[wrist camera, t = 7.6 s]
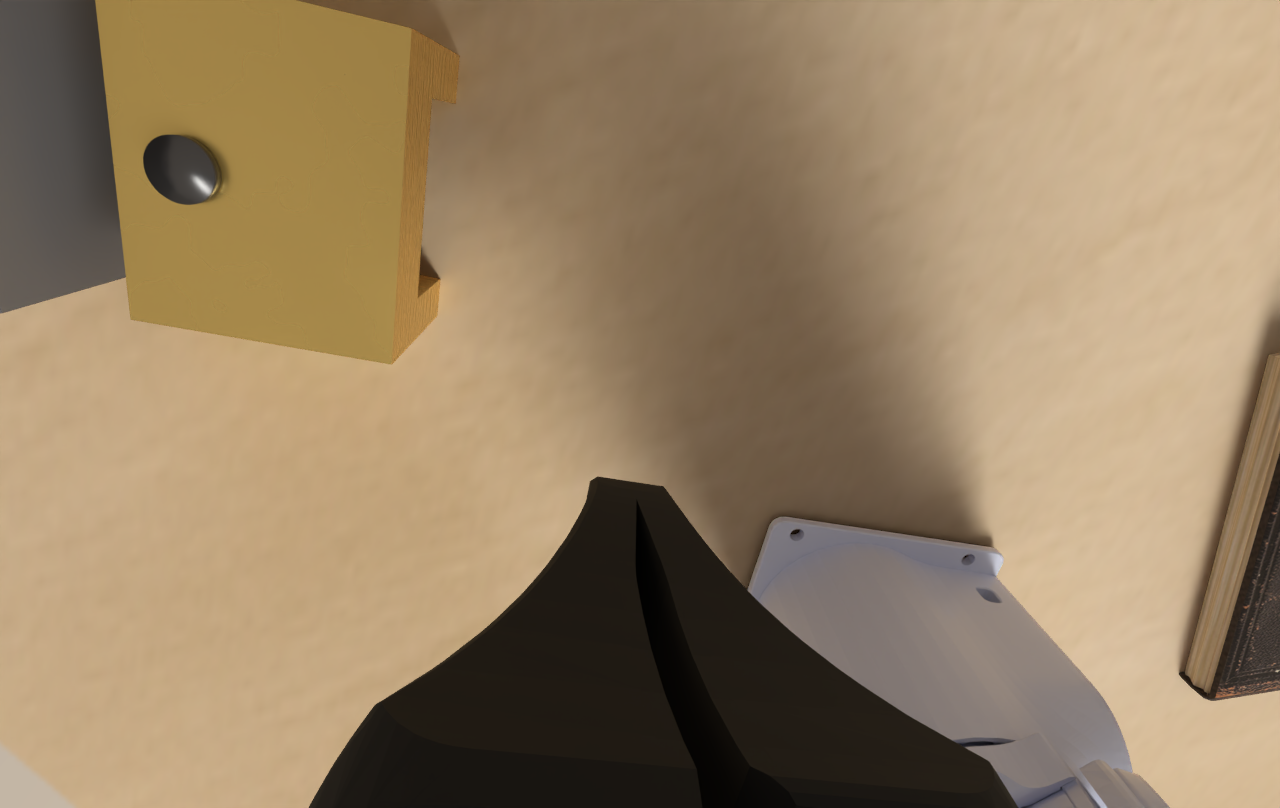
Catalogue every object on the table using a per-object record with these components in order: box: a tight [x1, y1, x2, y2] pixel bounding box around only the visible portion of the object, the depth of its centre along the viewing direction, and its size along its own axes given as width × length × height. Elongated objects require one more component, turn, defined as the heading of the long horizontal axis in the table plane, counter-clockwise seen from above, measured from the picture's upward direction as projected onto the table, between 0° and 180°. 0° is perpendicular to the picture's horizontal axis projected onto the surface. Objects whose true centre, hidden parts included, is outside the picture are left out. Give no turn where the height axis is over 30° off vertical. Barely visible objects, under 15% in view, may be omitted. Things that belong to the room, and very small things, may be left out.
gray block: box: [0, 0, 126, 313], centre depth 14 cm, size 8×7×7 cm
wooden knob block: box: [95, 0, 460, 364], centre depth 16 cm, size 6×7×5 cm
